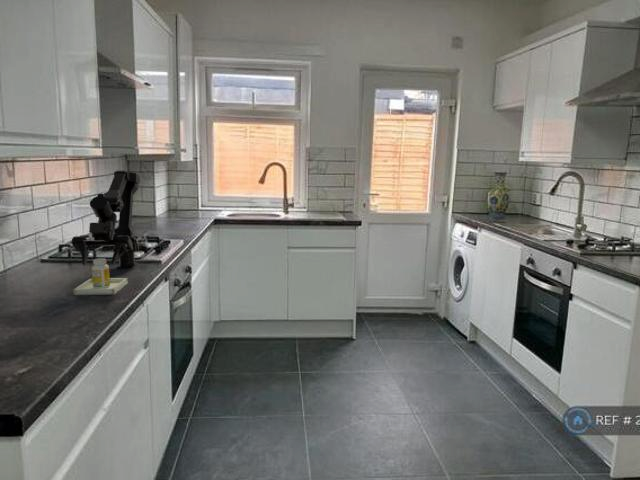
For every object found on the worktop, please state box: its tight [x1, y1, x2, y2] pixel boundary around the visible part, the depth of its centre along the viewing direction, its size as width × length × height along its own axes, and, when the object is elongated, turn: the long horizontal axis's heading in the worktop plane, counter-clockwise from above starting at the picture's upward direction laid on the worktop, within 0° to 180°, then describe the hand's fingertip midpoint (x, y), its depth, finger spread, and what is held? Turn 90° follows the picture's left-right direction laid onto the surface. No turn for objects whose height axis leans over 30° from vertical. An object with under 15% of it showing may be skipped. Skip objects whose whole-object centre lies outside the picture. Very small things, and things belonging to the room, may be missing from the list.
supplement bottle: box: [91, 257, 111, 289], centre depth 163 cm, size 5×5×10 cm
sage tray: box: [73, 277, 129, 296], centre depth 164 cm, size 13×13×2 cm
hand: (98, 264), depth 161 cm, fingers open, 9 cm apart
